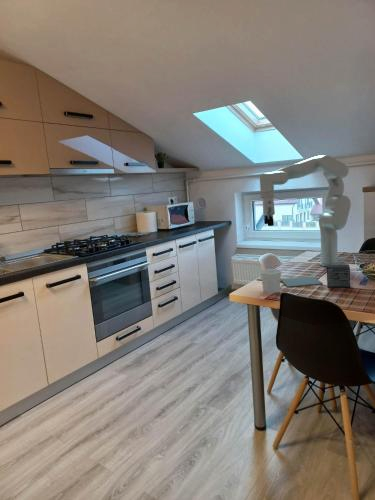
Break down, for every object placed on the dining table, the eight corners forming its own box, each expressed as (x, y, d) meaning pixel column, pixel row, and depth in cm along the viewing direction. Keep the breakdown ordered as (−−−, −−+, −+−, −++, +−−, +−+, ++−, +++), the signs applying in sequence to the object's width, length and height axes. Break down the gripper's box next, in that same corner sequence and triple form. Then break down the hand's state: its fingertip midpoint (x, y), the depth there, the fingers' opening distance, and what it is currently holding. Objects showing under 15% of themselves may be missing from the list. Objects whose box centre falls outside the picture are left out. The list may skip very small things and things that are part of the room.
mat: (313, 277, 203) (313, 276, 203) (322, 284, 189) (322, 283, 189) (280, 280, 203) (280, 279, 203) (287, 287, 189) (287, 286, 189)
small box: (349, 284, 186) (349, 263, 184) (350, 288, 180) (350, 267, 178) (326, 284, 189) (326, 264, 187) (327, 287, 183) (326, 267, 181)
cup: (270, 295, 180) (269, 275, 178) (257, 290, 188) (256, 271, 187) (286, 290, 184) (285, 271, 182) (272, 286, 193) (271, 268, 191)
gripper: (277, 195, 201) (278, 226, 204) (270, 193, 218) (272, 222, 221) (263, 196, 202) (265, 227, 205) (258, 195, 219) (259, 223, 222)
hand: (269, 224), depth 213 cm, fingers open, 9 cm apart
